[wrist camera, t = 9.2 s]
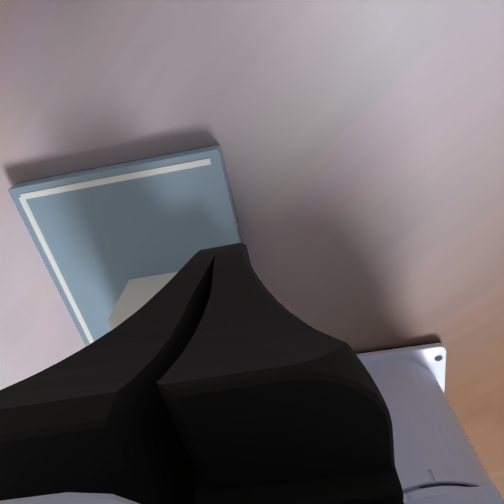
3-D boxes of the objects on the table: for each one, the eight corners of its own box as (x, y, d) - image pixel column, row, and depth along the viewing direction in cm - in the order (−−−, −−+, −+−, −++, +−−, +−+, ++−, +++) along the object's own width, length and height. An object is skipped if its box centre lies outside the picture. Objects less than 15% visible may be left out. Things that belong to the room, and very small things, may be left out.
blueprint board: (266, 352, 27) (269, 411, 22) (110, 374, 28) (84, 435, 23) (219, 144, 20) (210, 171, 16) (18, 183, 21) (-42, 218, 17)
